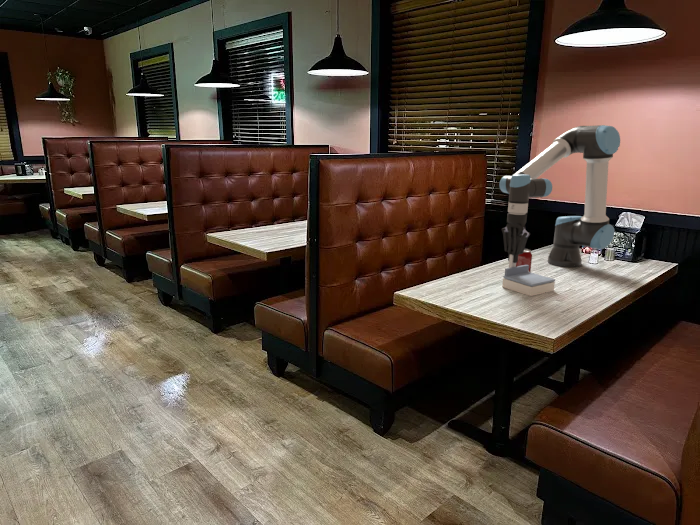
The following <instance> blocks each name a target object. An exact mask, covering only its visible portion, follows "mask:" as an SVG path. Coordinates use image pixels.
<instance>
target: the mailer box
mask: <svg viewBox="0 0 700 525" xmlns="http://www.w3.org/2000/svg"><path fill="white" fill-rule="evenodd" d="M555 285H556V281H554V282H550V283H545V284H541V285H536V286H529V285H525V284H522V283H519V282H516V281H512V280H509V279H506V278H503V277H502V288H504V289H508V290H510V291H514V292H518V293H520V294H523V295H526V296H529V297H532V296H537V295H540V294H541V295H542V294H545V292H546V293H550V292H554V291H555Z"/></svg>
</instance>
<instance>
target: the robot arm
mask: <svg viewBox="0 0 700 525" xmlns="http://www.w3.org/2000/svg"><path fill="white" fill-rule="evenodd" d="M620 147H621V136H620V133H619V131H618V129H617V128H616V127H615V126H612V125H604V124H603V125H602V124H601V125H579V126H578V125H577V126H576V127H573V128H571V129H569V130H567V131H565V132H564V133H562V134H560V135H559V136H557V137H556V138H555V139H554V140H552V143H551V145H550V146H548V147H546V148H545V149H544V150H543V151H542V152H540V153H539V154H538V155H537V156H536V157H534V158H533V159H532V160H531V161H529V162H528V163H526V164H525V165H524V166H522V168H520V169H519V170H518V171H516V172H515V173H513V174H512V175H504V176H502V177H501V179H500V181H499V189H500V191H501V192H502V193H503V194H504V193H505V194H508V207H507V212H508V213H507V217H506V223H507V224H506V226H505V227H502V228H501V232H502V236H503V246H504V252H505V253H506V252H507V254H508V257H507V261H508V268H511V267H516V263H517V262H518V255H519V254H523V251H524V249H526V245H527V242H528V238H529V237H530V235H531V232H528V231H527V230H526V223H527V218H528V209H529V208H528V207H529V199H531V198H533V199H534V198H545V197H549V195H550V194H551V193H552V192H553V184H552V181H551V180H550V179H548V178H539V177H540V176H542V175H543V174H544V173H546V171H548V170H549V169H551V168H552V167H553V166H554V165H556V163H558V162H559V161H560V160H562V159H563V158H568V157H569V156H570V155H572V154H576V153H577V154H578V153H580V154H581V153H582V159H583V160H584V161H585V162H586V170H585V172H586V173H585V192H584V193H585V194H584V195H585V196H584V214H583V216H581V215H567V216H566V215H565V216H558V217H557V218H556V220H555V224H554V236H553V246H552V247H551V251H550V253H549V255H548V256H547V263H548V264H550V265H554V266H558V267H566V268H576V267H577V268H578V267H581V266H582V255H581V252H580V246H582V247H586V248H591V249H593V250H594V249H596V250H603V249H606V248H607V247H609V245H610V244H611V243H612V241H613V239H614V236H615V231H616V230H615V228H614V226H613V225H612V224H610V218H609V217H608V216H607V214H606V213H607V200H608V199H607V195H608V178H609V177H608V176H609V165H610V160H612V159H613V157H614V154H616V153H617V152H618V150H619V148H620Z"/></svg>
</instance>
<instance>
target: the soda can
mask: <svg viewBox="0 0 700 525" xmlns="http://www.w3.org/2000/svg"><path fill="white" fill-rule="evenodd" d="M532 260H533V254H532V250H531V249H528V248H524V251H523V254H519V255H518V262H517V263H516V266H522V265H529V270H528V272H531V268H532Z"/></svg>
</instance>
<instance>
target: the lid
mask: <svg viewBox="0 0 700 525" xmlns="http://www.w3.org/2000/svg"><path fill="white" fill-rule="evenodd" d="M528 270H529V265H522V266H516V267H511V268H509V267H507V268H505V269H504V275H503V276H502V279H503V278H506V279H509V280H512V281H516V282H519V283H522V284H525V285H529V286H536V285H541V284H545V283H550V282H556V279H554V278H551V277H548V276H545V275H541V274H539V273H538V274H537V273H535V272H531V271H530V272H528Z"/></svg>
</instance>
